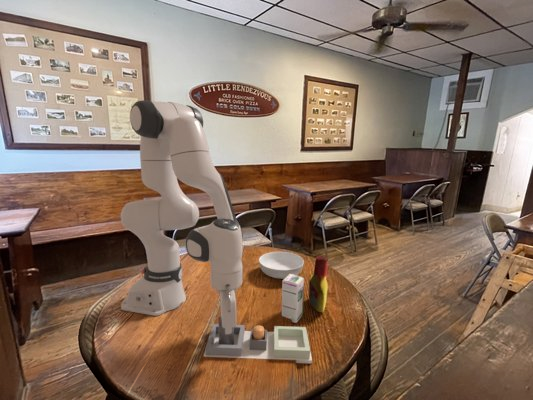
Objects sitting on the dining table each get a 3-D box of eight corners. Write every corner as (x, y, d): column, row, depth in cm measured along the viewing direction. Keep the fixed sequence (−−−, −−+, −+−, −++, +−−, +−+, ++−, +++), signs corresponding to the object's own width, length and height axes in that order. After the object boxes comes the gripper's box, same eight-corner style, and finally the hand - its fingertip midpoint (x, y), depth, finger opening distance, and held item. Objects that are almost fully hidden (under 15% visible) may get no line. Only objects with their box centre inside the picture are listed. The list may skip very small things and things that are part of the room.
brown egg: (252, 343, 77) (252, 332, 76) (253, 335, 80) (253, 325, 80) (263, 343, 77) (264, 332, 76) (264, 336, 80) (264, 325, 80)
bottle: (329, 315, 94) (333, 263, 90) (310, 315, 95) (314, 262, 91) (323, 297, 106) (326, 249, 102) (306, 296, 106) (309, 249, 102)
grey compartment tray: (203, 359, 74) (202, 347, 73) (212, 332, 85) (211, 321, 84) (311, 363, 74) (312, 351, 73) (306, 335, 84) (307, 324, 84)
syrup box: (296, 323, 90) (298, 284, 87) (280, 318, 93) (282, 279, 90) (302, 314, 95) (305, 277, 92) (287, 309, 98) (289, 272, 95)
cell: (217, 348, 77) (217, 321, 75) (220, 337, 81) (220, 312, 80) (232, 348, 77) (232, 322, 75) (234, 337, 81) (234, 312, 80)
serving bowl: (305, 266, 133) (306, 253, 131) (300, 288, 113) (300, 272, 111) (264, 261, 138) (265, 248, 136) (252, 281, 118) (252, 266, 116)
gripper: (242, 295, 66) (242, 345, 68) (234, 262, 85) (235, 301, 88) (216, 297, 64) (217, 348, 67) (214, 263, 84) (215, 303, 86)
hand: (227, 321), depth 77 cm, fingers open, 8 cm apart
